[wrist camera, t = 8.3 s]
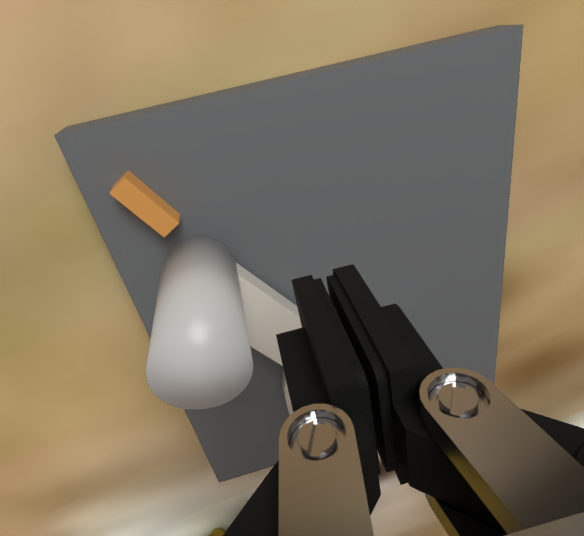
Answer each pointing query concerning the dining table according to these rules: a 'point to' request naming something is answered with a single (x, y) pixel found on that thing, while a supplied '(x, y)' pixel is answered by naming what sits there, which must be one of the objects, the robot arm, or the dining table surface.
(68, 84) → the dining table surface
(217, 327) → the white lever handle
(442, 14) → the dining table surface
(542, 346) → the dining table surface
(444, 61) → the stand board
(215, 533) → the lemon
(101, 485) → the dining table surface
